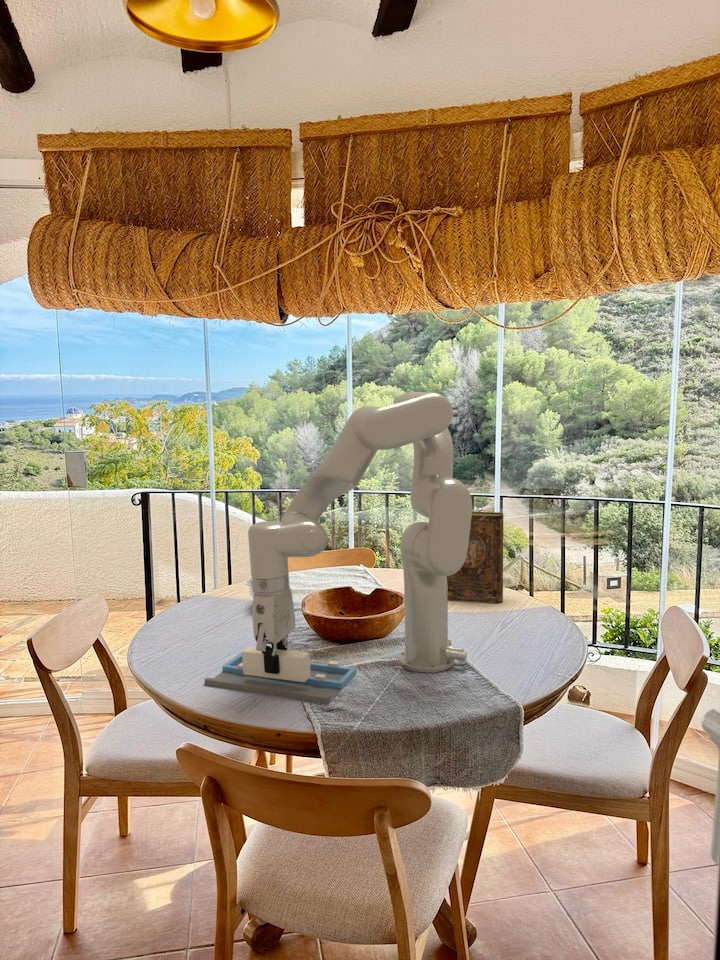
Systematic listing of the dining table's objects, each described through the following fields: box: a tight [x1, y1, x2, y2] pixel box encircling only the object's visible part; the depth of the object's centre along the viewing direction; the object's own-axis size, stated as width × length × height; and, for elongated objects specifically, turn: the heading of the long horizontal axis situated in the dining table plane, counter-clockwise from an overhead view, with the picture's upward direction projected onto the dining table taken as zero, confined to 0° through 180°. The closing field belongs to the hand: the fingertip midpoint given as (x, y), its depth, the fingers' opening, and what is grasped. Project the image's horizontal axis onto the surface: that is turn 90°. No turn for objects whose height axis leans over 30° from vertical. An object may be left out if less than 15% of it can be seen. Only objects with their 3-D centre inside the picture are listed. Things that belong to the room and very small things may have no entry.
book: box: [447, 511, 504, 605], centre depth 199 cm, size 16×6×25 cm, turn 73°
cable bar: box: [241, 645, 311, 682], centre depth 144 cm, size 14×3×5 cm, turn 69°
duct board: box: [204, 652, 357, 705], centre depth 148 cm, size 28×15×3 cm, turn 69°
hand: (276, 668), depth 144 cm, fingers closed on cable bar, 3 cm apart
